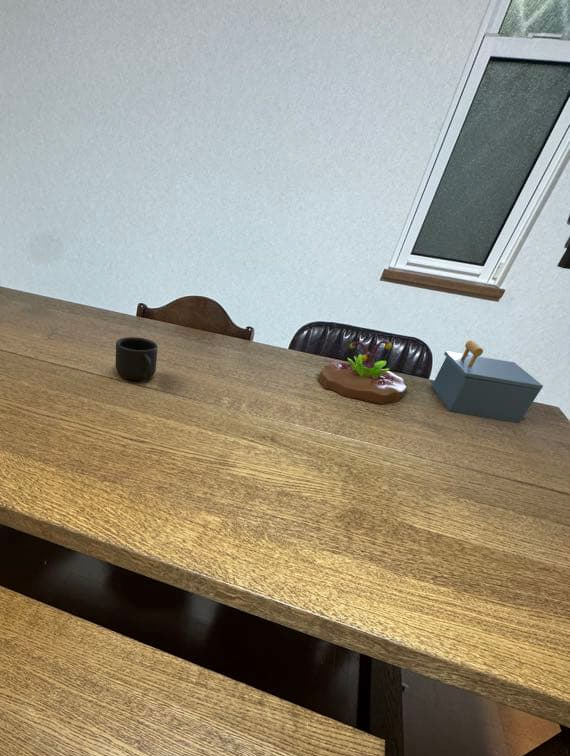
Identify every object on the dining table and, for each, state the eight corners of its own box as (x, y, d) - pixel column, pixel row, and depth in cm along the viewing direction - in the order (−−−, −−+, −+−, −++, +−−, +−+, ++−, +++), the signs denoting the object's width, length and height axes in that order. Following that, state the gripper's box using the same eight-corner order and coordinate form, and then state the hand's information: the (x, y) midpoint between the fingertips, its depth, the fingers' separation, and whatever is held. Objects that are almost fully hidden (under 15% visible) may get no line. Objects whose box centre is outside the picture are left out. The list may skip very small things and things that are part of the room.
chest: (449, 411, 104) (467, 377, 99) (431, 386, 116) (446, 355, 111) (519, 422, 103) (541, 389, 98) (494, 396, 115) (512, 365, 110)
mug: (109, 370, 103) (109, 337, 98) (145, 367, 106) (147, 336, 102) (129, 391, 95) (130, 357, 90) (167, 387, 98) (170, 354, 94)
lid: (463, 376, 99) (476, 353, 96) (443, 354, 111) (454, 332, 108) (541, 389, 98) (556, 366, 94) (512, 365, 110) (525, 344, 106)
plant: (394, 411, 101) (417, 360, 93) (310, 386, 107) (326, 337, 100) (408, 386, 114) (429, 340, 107) (333, 365, 121) (348, 320, 114)
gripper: (624, 112, 80) (539, 266, 95) (703, 121, 79) (604, 275, 94) (601, 116, 85) (524, 260, 101) (674, 124, 84) (585, 269, 100)
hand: (563, 267), depth 97 cm, fingers closed
